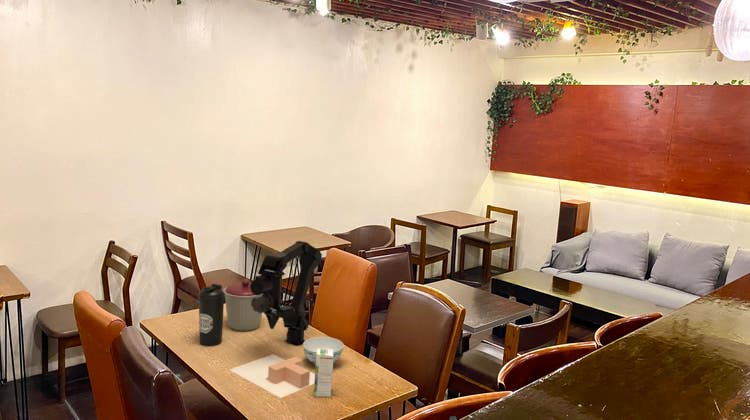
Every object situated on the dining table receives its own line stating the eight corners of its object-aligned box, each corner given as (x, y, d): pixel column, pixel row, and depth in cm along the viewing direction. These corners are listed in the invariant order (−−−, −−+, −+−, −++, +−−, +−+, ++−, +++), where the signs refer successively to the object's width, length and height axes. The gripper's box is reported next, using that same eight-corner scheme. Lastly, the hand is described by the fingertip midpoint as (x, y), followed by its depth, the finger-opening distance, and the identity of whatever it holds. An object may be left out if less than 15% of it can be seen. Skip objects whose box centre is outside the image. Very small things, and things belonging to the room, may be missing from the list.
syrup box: (314, 388, 191) (316, 348, 189) (331, 389, 191) (333, 348, 189) (313, 396, 185) (315, 355, 183) (331, 397, 186) (333, 355, 184)
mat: (272, 355, 215) (273, 354, 215) (324, 380, 198) (325, 378, 197) (228, 371, 200) (228, 369, 200) (280, 399, 182) (280, 397, 182)
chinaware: (293, 364, 209) (294, 344, 208) (321, 352, 221) (322, 333, 220) (323, 377, 200) (324, 356, 199) (350, 364, 212) (352, 344, 211)
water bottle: (191, 343, 221) (192, 287, 217) (208, 335, 230) (209, 280, 227) (213, 349, 217) (214, 291, 214) (229, 340, 227) (230, 285, 223)
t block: (294, 369, 203) (295, 356, 202) (317, 381, 195) (318, 367, 195) (268, 380, 194) (268, 366, 193) (291, 392, 186) (291, 378, 185)
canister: (238, 316, 254) (239, 271, 250) (273, 323, 248) (275, 277, 244) (213, 329, 237) (214, 281, 233) (251, 337, 231) (252, 288, 228)
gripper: (240, 286, 210) (239, 326, 212) (272, 299, 198) (271, 341, 201) (263, 281, 218) (262, 320, 221) (296, 293, 207) (294, 333, 209)
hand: (271, 328), depth 213 cm, fingers closed
